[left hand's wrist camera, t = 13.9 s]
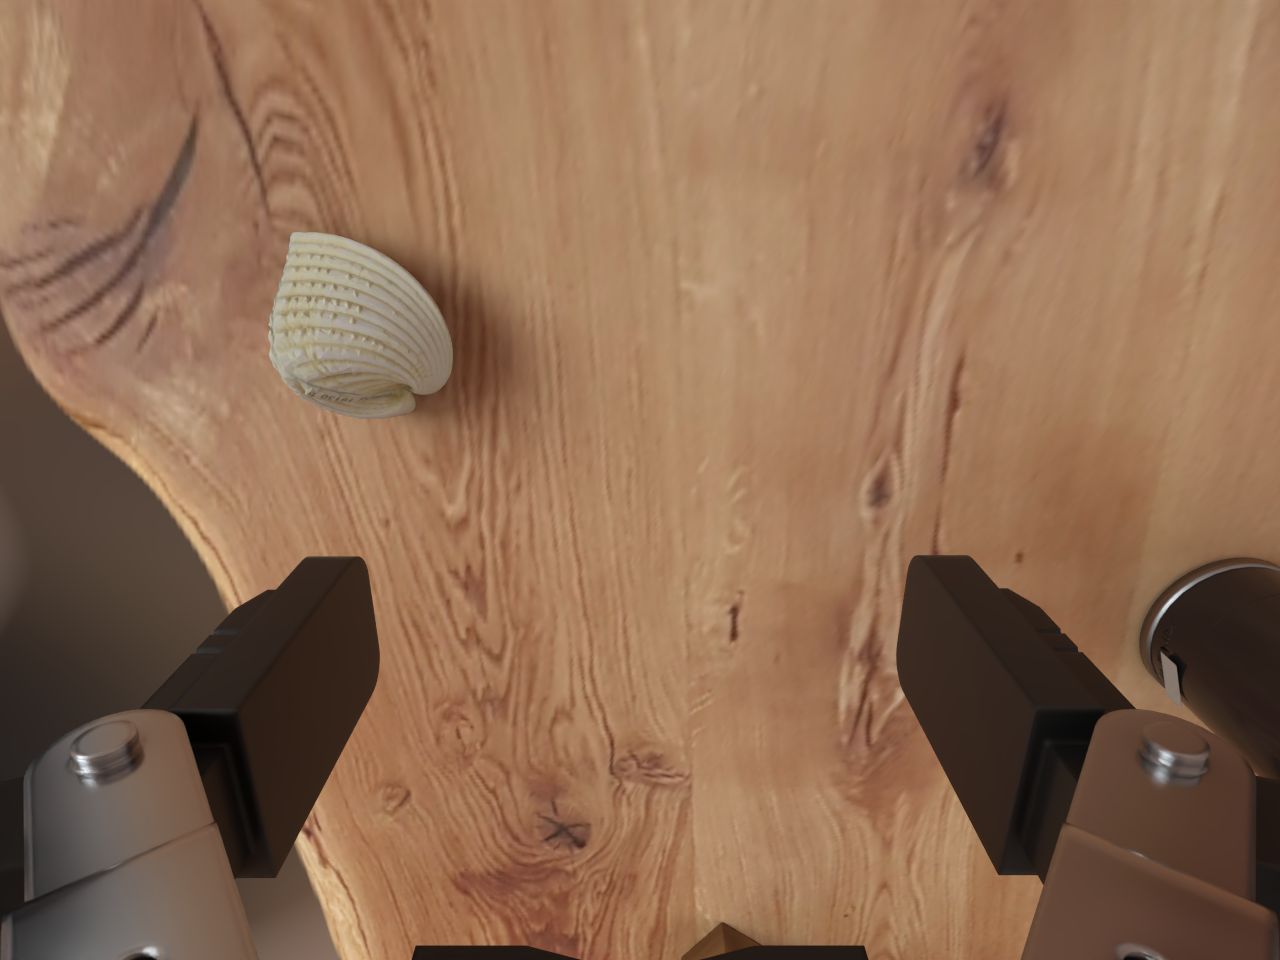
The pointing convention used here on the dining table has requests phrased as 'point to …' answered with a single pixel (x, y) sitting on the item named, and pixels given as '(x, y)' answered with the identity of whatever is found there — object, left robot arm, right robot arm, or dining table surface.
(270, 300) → the dining table surface
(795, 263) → the dining table surface
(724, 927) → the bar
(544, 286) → the dining table surface
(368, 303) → the seashell
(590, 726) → the dining table surface
